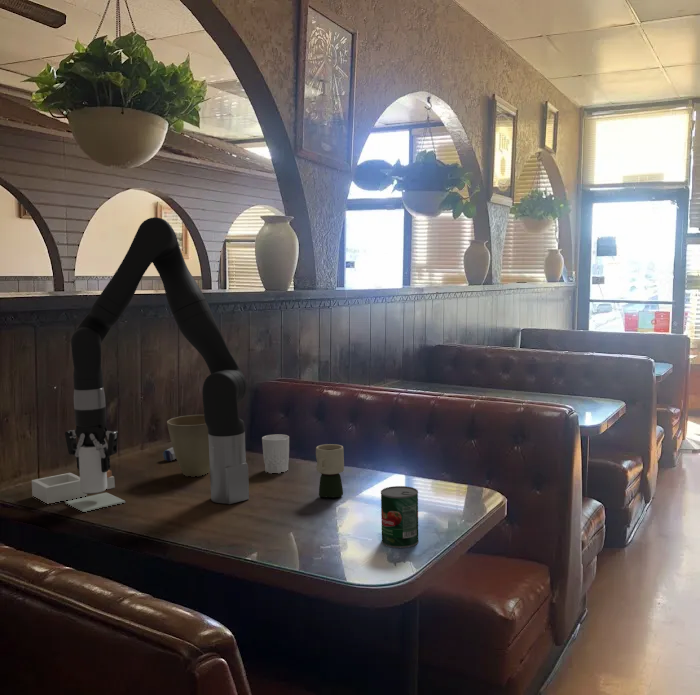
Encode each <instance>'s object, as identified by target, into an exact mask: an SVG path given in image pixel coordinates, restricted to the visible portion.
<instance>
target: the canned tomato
mask: <svg viewBox="0 0 700 695" xmlns="http://www.w3.org/2000/svg"><path fill="white" fill-rule="evenodd" d="M380 505H381V506H380V507H381V509H380V510H381V511H380V513H381V514H380V515H381V516H380V518H381V519H380V520H381V521H380V523H381V543H382V545H384V546H386V547H388V548H393V549H394V548H395V549H407V548H412V547H415V546H416V545H417V544H419V490H418V489H417V488H415V487H412V486H405V485H395V486H388V487H384V488H382V489H381V490H380Z"/></svg>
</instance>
